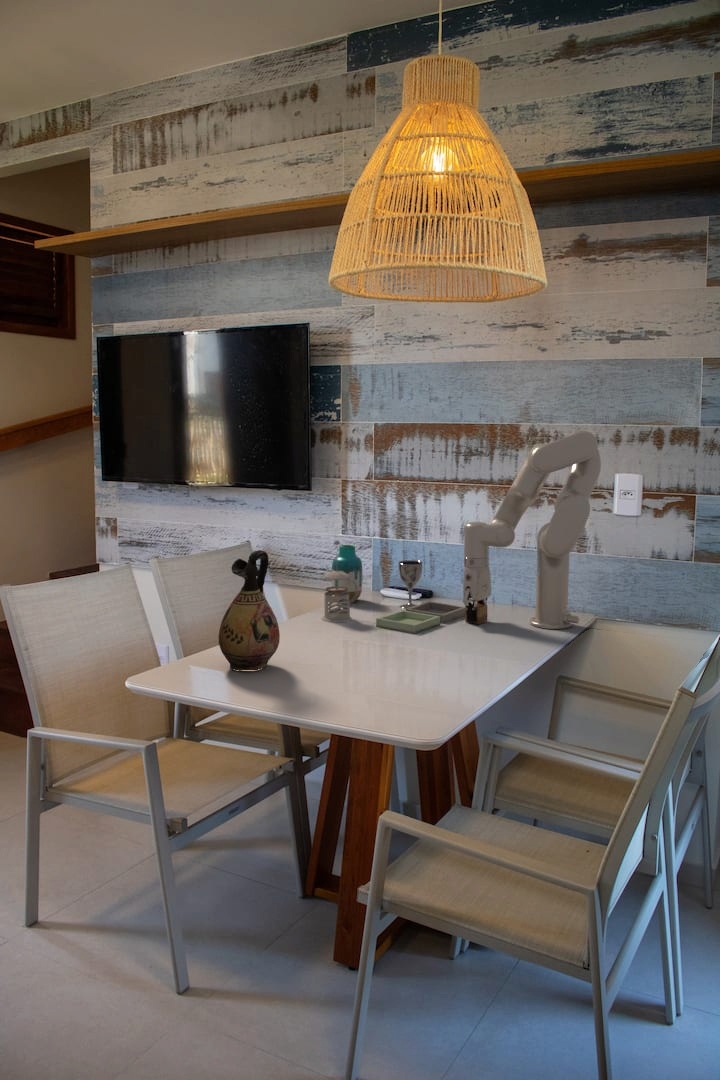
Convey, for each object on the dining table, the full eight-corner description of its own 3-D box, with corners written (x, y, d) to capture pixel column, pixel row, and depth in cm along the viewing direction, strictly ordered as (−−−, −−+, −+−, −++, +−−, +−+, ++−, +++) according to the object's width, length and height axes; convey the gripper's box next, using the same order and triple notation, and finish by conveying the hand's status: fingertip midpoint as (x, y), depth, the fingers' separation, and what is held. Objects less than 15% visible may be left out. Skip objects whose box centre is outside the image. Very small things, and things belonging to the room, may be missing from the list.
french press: (317, 616, 277) (317, 538, 273) (352, 614, 280) (352, 537, 277) (325, 623, 268) (325, 543, 264) (361, 621, 271) (362, 541, 267)
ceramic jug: (255, 679, 212) (253, 558, 207) (206, 670, 220) (203, 553, 215) (295, 662, 226) (294, 549, 222) (248, 654, 234) (247, 544, 230)
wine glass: (426, 605, 293) (426, 561, 290) (414, 610, 286) (415, 565, 284) (405, 602, 297) (405, 559, 295) (393, 607, 290) (394, 563, 288)
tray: (439, 624, 267) (440, 616, 267) (414, 633, 256) (414, 625, 256) (402, 617, 275) (402, 610, 275) (376, 626, 264) (376, 618, 264)
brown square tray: (466, 614, 280) (466, 607, 279) (443, 623, 269) (443, 615, 268) (429, 608, 288) (429, 601, 288) (405, 616, 277) (405, 609, 276)
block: (487, 620, 270) (487, 605, 270) (479, 624, 266) (479, 608, 266) (473, 618, 273) (473, 603, 273) (465, 621, 269) (465, 606, 269)
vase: (368, 602, 298) (368, 546, 295) (341, 605, 292) (341, 549, 290) (352, 596, 307) (353, 542, 304) (326, 599, 302) (326, 544, 299)
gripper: (473, 567, 258) (473, 627, 261) (500, 559, 272) (500, 616, 274) (451, 565, 263) (451, 624, 265) (479, 557, 276) (479, 613, 279)
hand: (476, 619), depth 270 cm, fingers closed on block, 5 cm apart
